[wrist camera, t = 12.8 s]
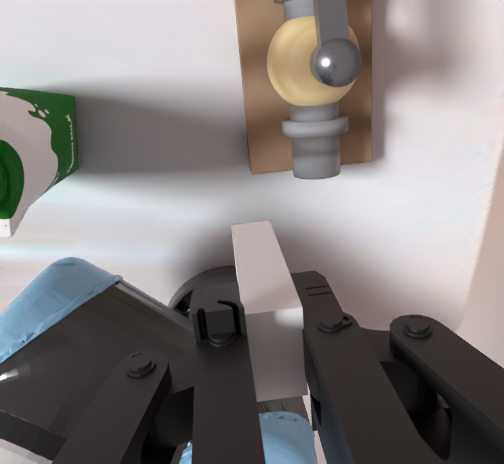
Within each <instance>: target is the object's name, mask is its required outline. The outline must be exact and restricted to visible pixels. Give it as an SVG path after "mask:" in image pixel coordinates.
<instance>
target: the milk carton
mask: <svg viewBox="0 0 504 464" xmlns="http://www.w3.org/2000/svg"><path fill="white" fill-rule="evenodd" d="M76 170H78V153H77V135H76V117H75V99H74V97H71V96H65V95H59V94H53V93H47V92H41V91H34V90H25V89H14V88H2V87H0V237H11V236H13V235H14V233H15V231H16V229H17V228H18V226H19V224H20V222H21V220H22V218H23V217H24V215H25V213H26V211H27V209H28V207H29V206H30V205H31V204H33V203H34V202H35V201H36V200H37V199H38V198H40V197H41V196H42V195H43V194H44V193H46V192H47V191H48V190H49V189H50V188H51V187H53V186H54V185H56V184H57V183H59V182H60V181H62V180H63V179H64V178H66V177H67V176H69V175H70V174H72V173H73V172H75V171H76Z"/></svg>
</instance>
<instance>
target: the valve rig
mask: <svg viewBox="0 0 504 464" xmlns="http://www.w3.org/2000/svg"><path fill="white" fill-rule="evenodd" d="M346 1H347V14H348V28H349V40H350V41H352V42H353V43H354V44H355V45H356V46H357V47H358V48H359V50H360V53H361V56H362V66H361V70H360V72H359V74H358V76H357V77H356V79H355V80H354V81H353V82H352V83H350V84H348V85H347V86H344V87H331V86H328V85H324V84H321V83H319V82H318V81H317V80H316V79H315V78H314V77H313V75H312V73H311V71H310V65H309V63H310V57H311V54H312V52H313V50H314V49H315V47H316V46H317V36H316V26H315V16H314V6H313V0H235V10H236V21H237V31H238V42H239V53H240V64H241V74H242V85H243V96H244V107H245V117H246V128H247V139H248V150H249V160H250V170H251V173H252V174H261V173H270V172H279V171H288V170H293V173H294V176H295V177H297V178H300V179H325V178H331V177H334V176H337V175H339V174H340V165H343V164H352V163H361V162H370V161H371V75H372V0H346Z"/></svg>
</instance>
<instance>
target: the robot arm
mask: <svg viewBox="0 0 504 464" xmlns="http://www.w3.org/2000/svg"><path fill="white" fill-rule="evenodd" d="M231 230H232V239H233V247H234V256H235V264H236V266H228V267H219V268H214V269H211V270H207V271H205V272H202V273H200V274H198V275H196V276H194V277H193V278H191V279H190V280H188V281H187V282H186V283H185V284H183V285H182V286H181V287H180V288H179V289H178V291H177V292H176V293H175V294H174V296H173V297H172V299H171V301H170V303H169V305H168V307H167V306H166V305H164V304H162V303H160V302H159V301H157V300H155V299H154V298H152V297H150V296H149V295H147V294H145V293H144V292H142V291H140V290H139V289H137V288H135V287H134V286H132V285H130V284H129V283H127V282H126V281H124V280H122V279H123V278H122V277H121V276H119V275H113V274H111V273H109V272H107V271H105V270H103V269H101V268H98V267H96V266H95V265H93V264H91V263H89V262H87V261H85V260H83V259H80V258H75V257H69V258H63V259H60V260H58V261H56V262H54V263H52V264H51V265H50V266H49V267H47V268H46V269H45V270H44V271H43V272H42V273H41V274H40V275H39V276H38V277H37V278H36V279H34V280H33V281H32V282H31V283H30V284H29V285H28V286H27V287H26V289H25V290H24V291H23V292H22V293H21V294H20V295H19V296H18V297H17V298H16V299H15V300H14V301H13V302H12V303H11V304H10V305H9V306H8V307H7V309H6V310H5V311H4V312H3V313H2V314H1V315H0V464H317V457H316V452H315V447H314V431H317V430H318V434H319V437H320V441H321V444H322V448H323V451H324V455H325V458H326V461H327V464H504V368H502V367H501V366H499V365H498V364H497V363H495V362H494V361H492V360H491V359H490V358H488V357H487V356H486V355H484V354H483V353H481V352H480V351H479V350H477V349H476V348H474V347H473V346H472V345H470V344H469V343H468V342H466V341H465V340H463V339H462V338H461V337H459V336H458V335H457V334H455V333H454V332H452V331H451V330H450V329H448V328H447V327H445V326H444V325H443V324H441V323H440V322H438V321H436V320H434V319H432V318H429V317H426V316H422V315H406V316H401V317H398V318H396V319H394V320H393V321H392V322H391V324H390V331H379V330H370V329H365V328H361V327H360V326H359V324H358V323H357V321H356V320H355V319H354V318H353V317H352V316H351V315H349V314H346V313H344V312H343V311H342V309H341V307H340V305H339V303H338V301H337V300H336V298H335V296H334V294H333V293H332V290H331V288H330V287H329V284H328V282H327V280H326V279H325V277H324V276H322V275H321V274H319V273H317V272H316V271H309V272H301V273H293V274H290V273H289V270H288V267H287V265H286V262H285V259H284V256H283V254H282V251H281V248H280V246H279V243H278V240H277V238H276V235H275V232H274V230H273V227H272V224H271V222H270V220H268V221H259V222H251V223H242V224H234V225H231ZM307 383H308V386H309V390H310V398H311V415H312V426H311V425H310V422H309V419H308V415H307V412H306V408H305V405H304V402H303V398H302V396H303V395H308V391H307Z"/></svg>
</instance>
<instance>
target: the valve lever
mask: <svg viewBox="0 0 504 464" xmlns="http://www.w3.org/2000/svg"><path fill="white" fill-rule="evenodd" d="M313 6H314V16H315V26H316V36H317V46H316V47H315V49H314V50H313V52H312V54H311V57H310V63H309V65H310V71H311V73H312V75H313V77H314V78H315V79H316V80H317V81H318V82H319V83H321V84H324V85H328V86H331V87H344V86H347V85H348V84H350V83H352V82H353V81H354V80H355V79H356V77H357V76H358V74H359V72H360V70H361V66H362V56H361V53H360V50H359V48H358V47H357V46H356V45H355V44H354V43H353V42H352V41H350V40H349V28H348V14H347V1H346V0H313Z"/></svg>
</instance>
